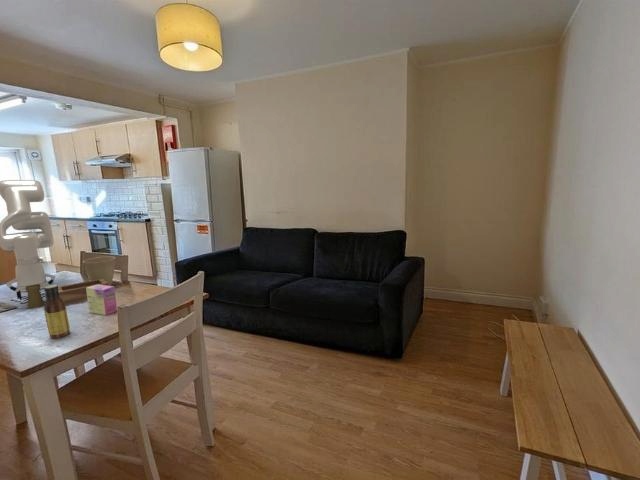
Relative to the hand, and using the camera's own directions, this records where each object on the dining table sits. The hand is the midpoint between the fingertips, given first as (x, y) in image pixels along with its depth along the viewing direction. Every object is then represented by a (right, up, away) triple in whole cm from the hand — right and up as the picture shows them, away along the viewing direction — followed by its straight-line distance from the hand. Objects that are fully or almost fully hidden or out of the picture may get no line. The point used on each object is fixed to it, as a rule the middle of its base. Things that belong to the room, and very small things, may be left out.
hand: (34, 296), depth 150 cm
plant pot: (+13, 0, +29) cm, 31 cm away
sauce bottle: (+36, -10, -29) cm, 47 cm away
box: (+37, -6, -7) cm, 39 cm away
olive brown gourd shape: (0, -5, +1) cm, 5 cm away
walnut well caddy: (+16, -3, +11) cm, 19 cm away
